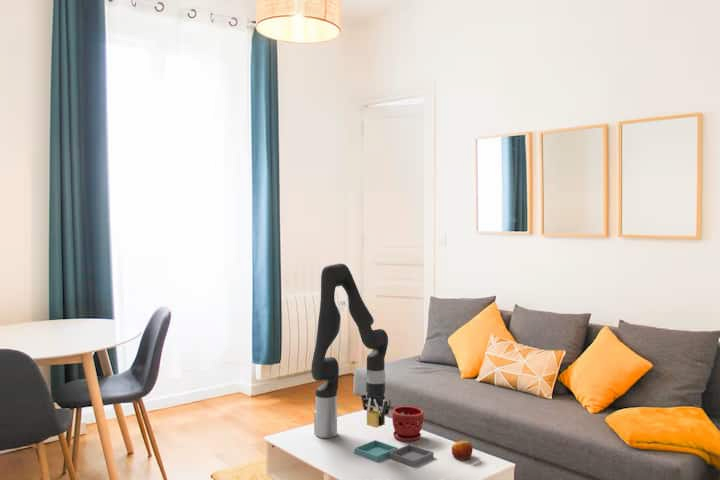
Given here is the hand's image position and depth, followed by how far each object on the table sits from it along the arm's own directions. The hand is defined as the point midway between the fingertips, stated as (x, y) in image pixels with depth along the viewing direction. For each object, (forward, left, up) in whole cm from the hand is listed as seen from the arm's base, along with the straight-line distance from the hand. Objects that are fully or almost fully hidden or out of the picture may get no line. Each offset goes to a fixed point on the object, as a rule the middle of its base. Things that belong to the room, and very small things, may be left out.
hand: (375, 423), depth 238 cm
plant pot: (-2, +22, -13) cm, 25 cm away
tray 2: (+13, +6, -12) cm, 19 cm away
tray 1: (0, 0, -12) cm, 12 cm away
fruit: (+27, +20, -13) cm, 36 cm away
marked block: (0, 0, -1) cm, 1 cm away
